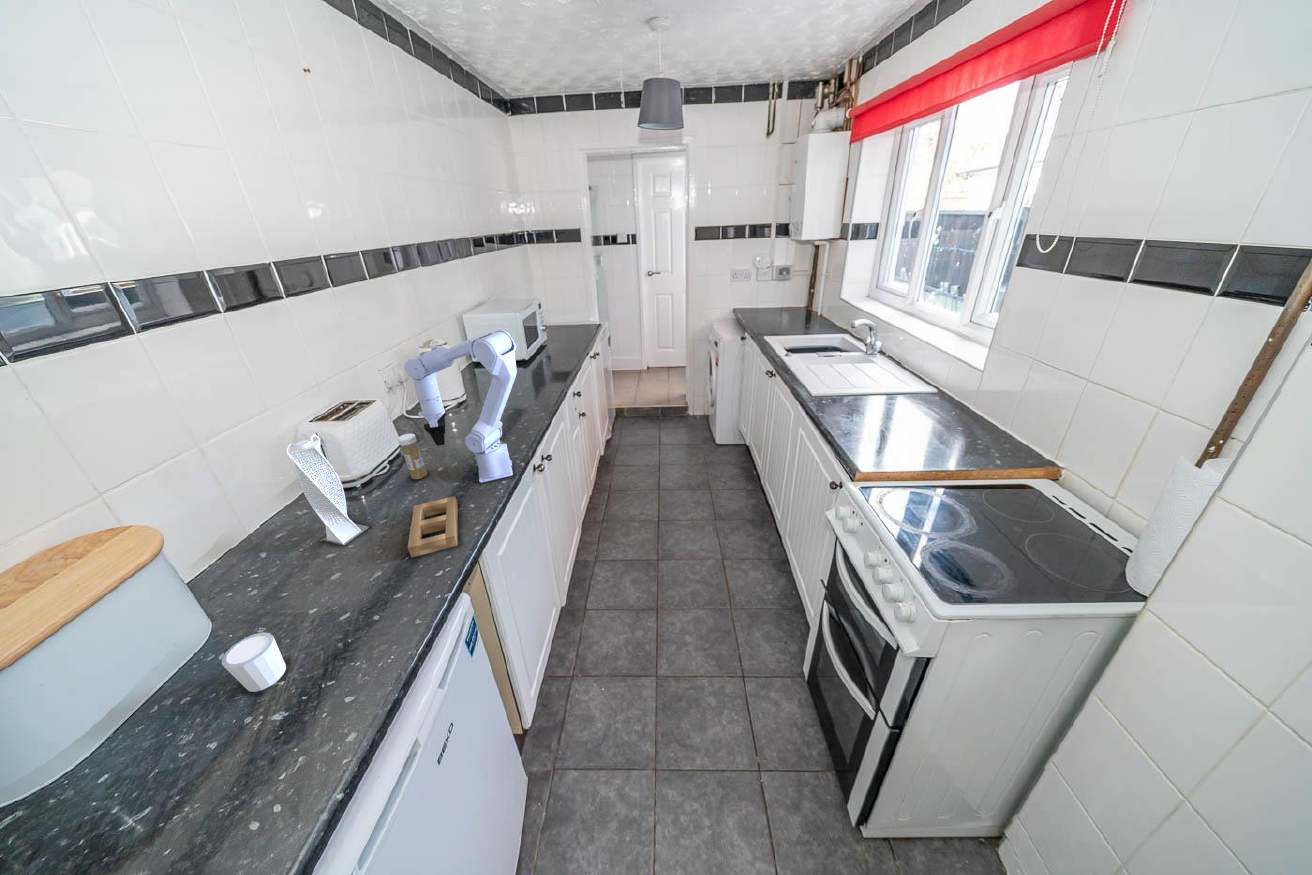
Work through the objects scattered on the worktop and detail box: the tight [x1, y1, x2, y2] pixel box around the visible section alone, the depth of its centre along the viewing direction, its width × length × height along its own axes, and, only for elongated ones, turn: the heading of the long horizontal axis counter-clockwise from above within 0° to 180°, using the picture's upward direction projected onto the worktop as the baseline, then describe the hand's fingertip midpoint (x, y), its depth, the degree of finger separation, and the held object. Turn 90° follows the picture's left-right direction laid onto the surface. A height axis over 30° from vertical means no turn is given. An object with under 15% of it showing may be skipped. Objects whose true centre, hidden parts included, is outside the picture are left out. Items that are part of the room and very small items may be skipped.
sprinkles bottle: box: [397, 433, 428, 480], centre depth 134 cm, size 5×5×14 cm
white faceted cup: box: [221, 632, 287, 693], centre depth 77 cm, size 7×7×7 cm
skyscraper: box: [285, 433, 370, 546], centre depth 106 cm, size 8×8×28 cm
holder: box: [407, 495, 459, 558], centre depth 112 cm, size 10×18×3 cm, turn 21°
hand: (441, 439), depth 135 cm, fingers open, 7 cm apart
